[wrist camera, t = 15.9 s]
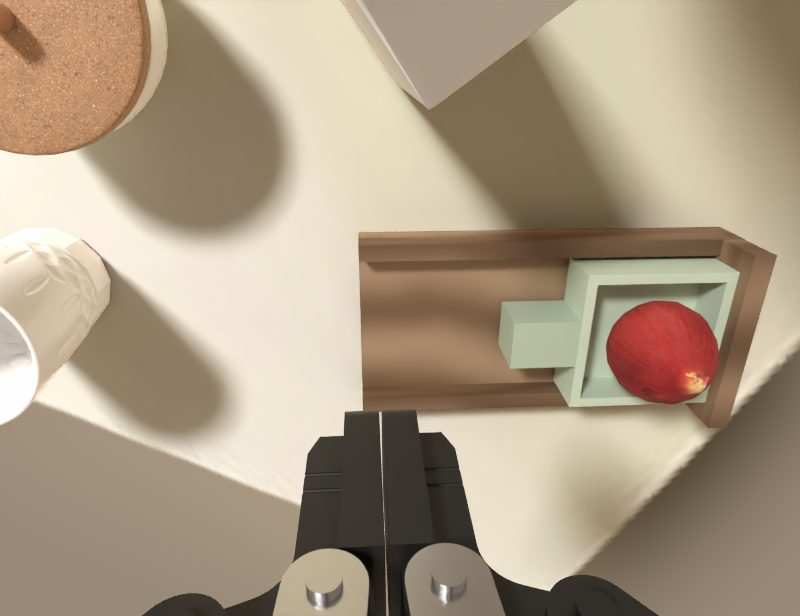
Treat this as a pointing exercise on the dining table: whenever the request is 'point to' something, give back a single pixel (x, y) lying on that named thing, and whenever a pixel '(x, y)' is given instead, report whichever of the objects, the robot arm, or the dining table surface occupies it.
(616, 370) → the onion
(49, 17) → the lidded jar
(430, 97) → the milk carton
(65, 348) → the white cup
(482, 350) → the rail
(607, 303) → the sled
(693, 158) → the dining table surface
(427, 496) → the robot arm
